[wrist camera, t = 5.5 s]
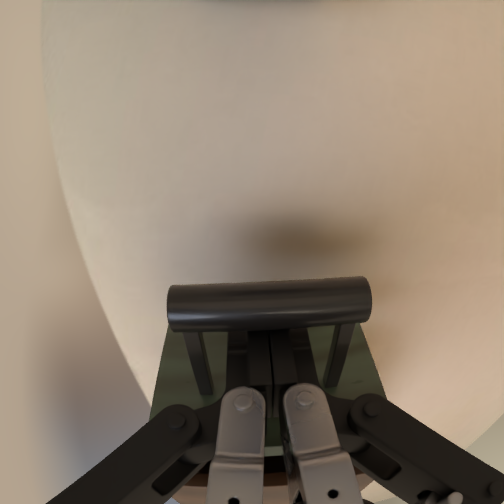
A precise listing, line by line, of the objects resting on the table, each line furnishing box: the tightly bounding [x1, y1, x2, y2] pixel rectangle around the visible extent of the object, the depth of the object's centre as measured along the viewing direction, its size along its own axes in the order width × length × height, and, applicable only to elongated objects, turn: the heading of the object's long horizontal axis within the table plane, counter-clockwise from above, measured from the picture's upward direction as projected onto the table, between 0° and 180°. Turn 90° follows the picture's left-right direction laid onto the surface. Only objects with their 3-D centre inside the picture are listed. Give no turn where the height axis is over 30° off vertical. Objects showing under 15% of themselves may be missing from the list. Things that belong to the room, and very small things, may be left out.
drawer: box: [149, 276, 387, 474], centre depth 16 cm, size 19×10×8 cm, turn 2°
